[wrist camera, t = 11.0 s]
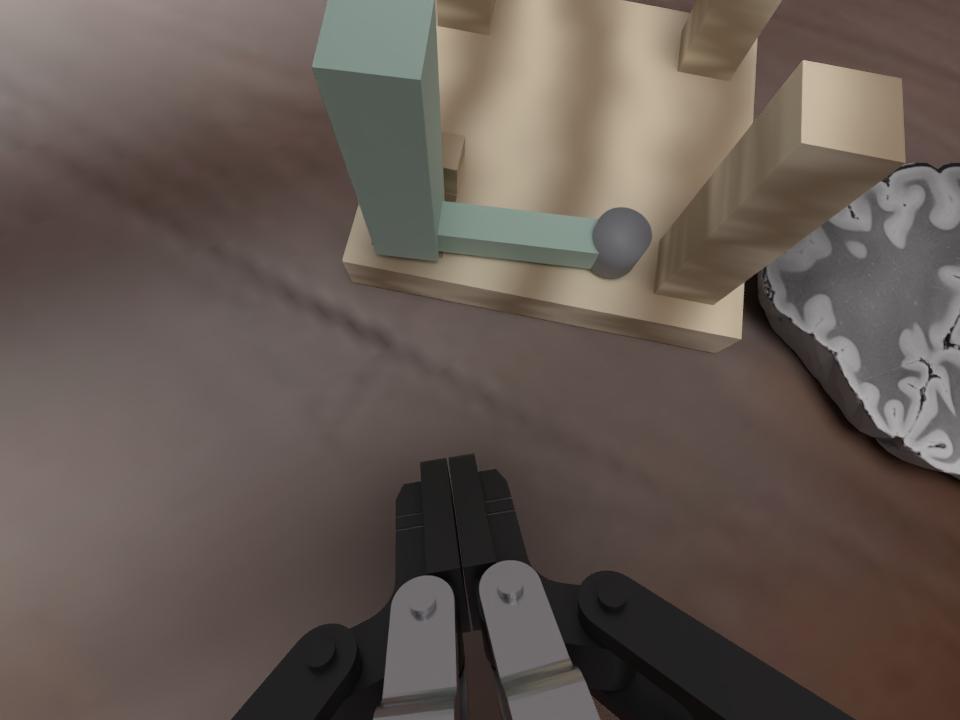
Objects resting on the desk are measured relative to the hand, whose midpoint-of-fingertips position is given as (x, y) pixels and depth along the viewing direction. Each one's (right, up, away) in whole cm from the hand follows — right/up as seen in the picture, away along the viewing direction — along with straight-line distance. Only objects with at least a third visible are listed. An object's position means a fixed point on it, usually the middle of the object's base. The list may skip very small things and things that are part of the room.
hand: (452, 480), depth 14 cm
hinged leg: (+2, +9, +11) cm, 15 cm away
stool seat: (+6, +15, +16) cm, 22 cm away
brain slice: (+25, +5, +14) cm, 29 cm away
